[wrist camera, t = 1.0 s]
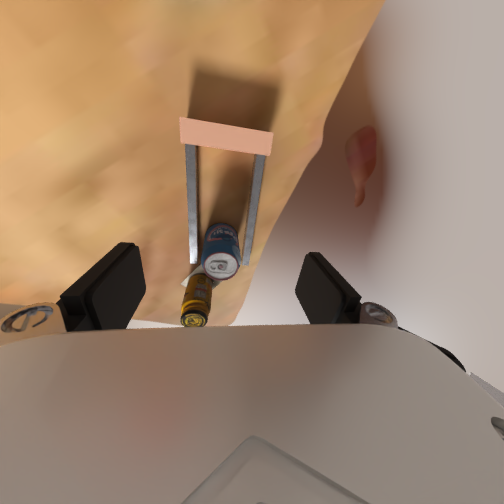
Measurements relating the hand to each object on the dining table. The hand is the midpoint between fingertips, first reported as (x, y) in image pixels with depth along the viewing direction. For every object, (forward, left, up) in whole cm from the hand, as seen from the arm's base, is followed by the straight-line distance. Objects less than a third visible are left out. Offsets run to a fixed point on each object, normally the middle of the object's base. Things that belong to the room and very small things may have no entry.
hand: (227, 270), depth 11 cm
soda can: (+12, 0, -29) cm, 31 cm away
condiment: (+25, -4, -29) cm, 38 cm away
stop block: (-7, 0, -29) cm, 29 cm away
